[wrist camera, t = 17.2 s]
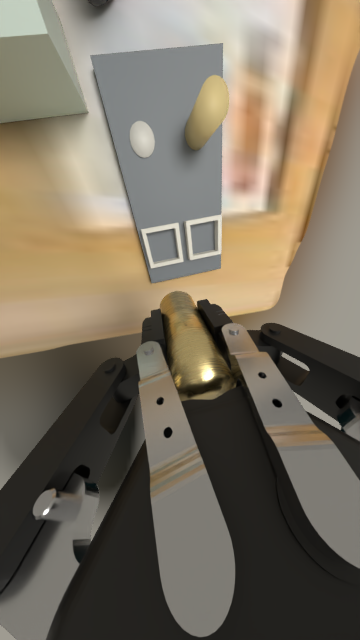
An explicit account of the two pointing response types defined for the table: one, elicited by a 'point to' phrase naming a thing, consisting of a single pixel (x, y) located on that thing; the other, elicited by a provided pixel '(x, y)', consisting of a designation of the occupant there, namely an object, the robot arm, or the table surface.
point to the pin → (192, 351)
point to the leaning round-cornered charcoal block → (97, 2)
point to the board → (170, 150)
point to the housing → (35, 64)
